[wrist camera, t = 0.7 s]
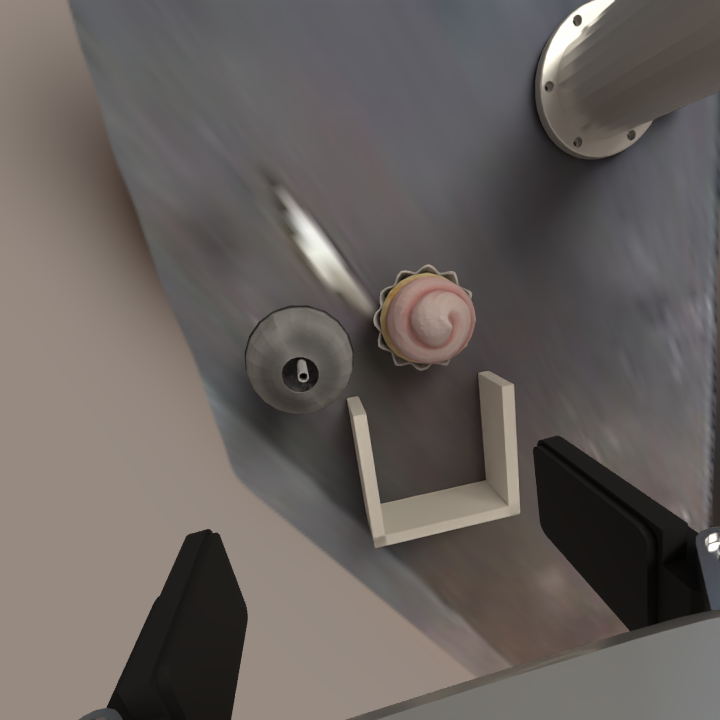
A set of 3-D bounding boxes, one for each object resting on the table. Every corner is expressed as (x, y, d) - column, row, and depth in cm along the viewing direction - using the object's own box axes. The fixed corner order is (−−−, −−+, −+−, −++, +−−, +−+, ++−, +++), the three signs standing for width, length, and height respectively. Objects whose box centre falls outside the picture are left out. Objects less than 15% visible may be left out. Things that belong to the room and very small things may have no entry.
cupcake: (451, 358, 40) (500, 387, 30) (363, 359, 38) (384, 389, 29) (459, 266, 37) (513, 264, 28) (365, 263, 36) (389, 261, 26)
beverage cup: (258, 363, 37) (209, 468, 17) (266, 288, 35) (224, 311, 16) (332, 372, 38) (364, 479, 19) (343, 300, 36) (390, 335, 17)
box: (488, 370, 40) (513, 384, 36) (496, 486, 44) (520, 513, 39) (346, 398, 39) (353, 416, 34) (366, 516, 42) (374, 548, 38)
